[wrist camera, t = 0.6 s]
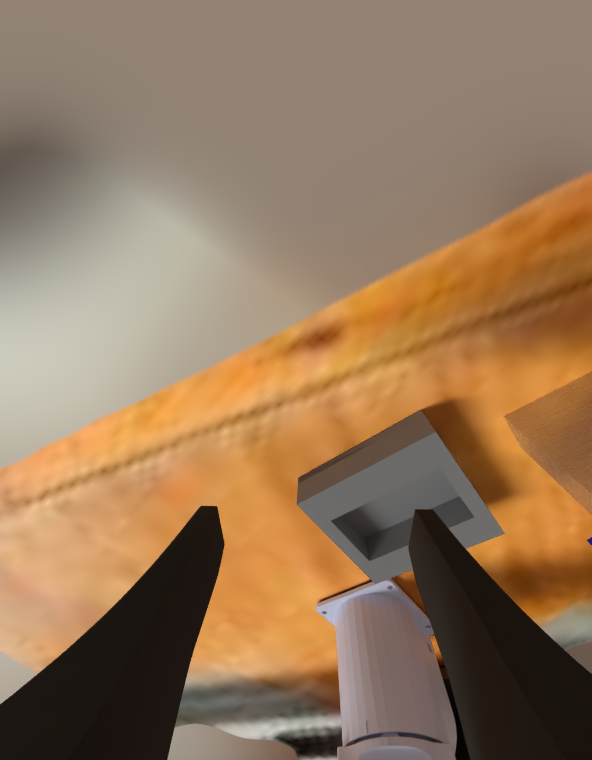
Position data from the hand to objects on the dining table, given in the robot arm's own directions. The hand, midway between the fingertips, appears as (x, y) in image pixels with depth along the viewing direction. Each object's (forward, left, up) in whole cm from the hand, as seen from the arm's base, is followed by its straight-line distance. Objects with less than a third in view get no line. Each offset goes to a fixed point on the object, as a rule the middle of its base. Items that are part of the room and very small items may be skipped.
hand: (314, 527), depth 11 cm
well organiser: (-9, 0, -9) cm, 13 cm away
